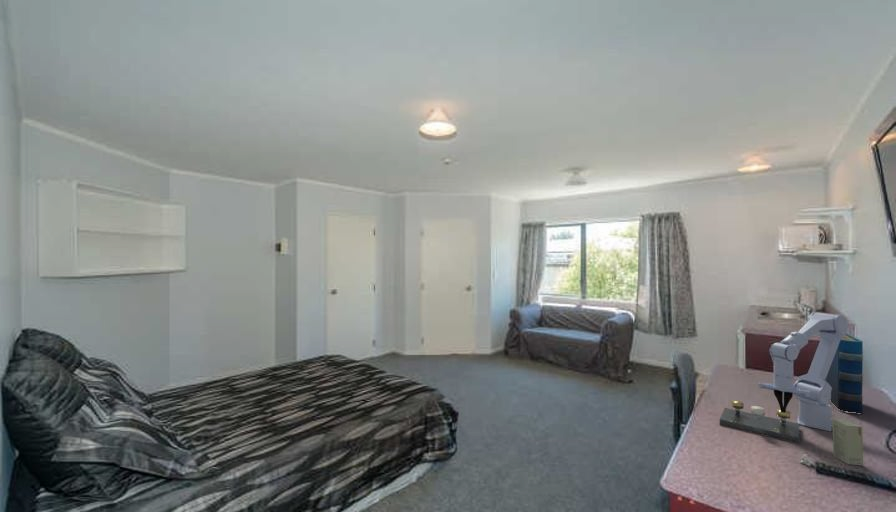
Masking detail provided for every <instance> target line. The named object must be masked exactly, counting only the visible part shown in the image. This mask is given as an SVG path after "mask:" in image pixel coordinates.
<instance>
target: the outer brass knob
mask: <svg viewBox="0 0 896 512" xmlns="http://www.w3.org/2000/svg"><path fill="white" fill-rule="evenodd" d="M730 403H731V405H730V406H731V407H732V408H734V410H735V413H740V411H741V410H743V409H744V408H745V407H744V405H745V404H744V402H743V401H740V400H737V399H732V400H731V401H730Z"/></svg>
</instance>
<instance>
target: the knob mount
mask: <svg viewBox="0 0 896 512" xmlns="http://www.w3.org/2000/svg"><path fill="white" fill-rule="evenodd" d="M719 425H721V426H725V427H730V428H734V429H737V430H742V431H747V432H750V431H751V432H750V433H754V432H755V434H758V433H759V434H758V435H762V434H763V436H766V435H767V436H766V437H772V438H775V439H779V440H784V441H787V442H791V441H792V442H791V443H795V442H797V443H796V444H800V425H799V424H798V423H797V422H795V421H789V420H786V423H781V422H780V419H779V418H774V417H771V416H770V417H769V416H765V415H764V416H761V420H756V419H755V414H753V413H751V412H747V411H742V410H740V413H735V409H732V408H729V407H724V409H723V411H722V414H721V416H720V418H719Z"/></svg>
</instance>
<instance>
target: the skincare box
mask: <svg viewBox="0 0 896 512" xmlns="http://www.w3.org/2000/svg"><path fill="white" fill-rule="evenodd" d="M863 441H864V440H863V426H862V425H861V424H860V425H859V424H857V423H855V422H853V421H851V420H849V419H848V418H847V419H844V418H834V417H833V418H832V447H833V448H832V455H833V456H834V457H835V458H837V459H839V460H840V461H842V462H844V463H845V464H847V465H854V466H864V450H863V449H864V448H863V447H864V444H863Z"/></svg>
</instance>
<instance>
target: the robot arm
mask: <svg viewBox="0 0 896 512" xmlns="http://www.w3.org/2000/svg"><path fill="white" fill-rule="evenodd" d="M848 327H849V323H848V319H847V317H846V316H845V315H843V314H835V313H825V312H818V311H812V312H811V313H810V314H809V315H808V316H807V322H806V323H805V324H804V325H803V326H802V327H801V328H800V330H799V331H791V332H790V334H789V335H787V336H786V337H785V338H783V339H782V340H781V341H779V342H775V343H773V344H771V345H770V348H769V349H768V350H769V351H768V352H769V355H770V356H771V360H772V361H771V362H772V363H773V383H768V382H761V381H760V382H758V389H761V390H762V389H764V390H768V391H773V394H774V397H775V398H776V400H777V402H778V405H779V409H781V412H786V410H787V408H788V406H789V405H788V404H789V403H790V401H791V400H792V399H793V396H796V399H797V400H798V416H797V418H796V419H797V422H796V423H798V424H799V426H804V427H808V428H814V429H818V430H823V431H827V432H833V418H832V414H833V413H832V404H828V403H830V399H831V390H832V387H831V386H830V385H829V384H828V383H827V382H826V380H825V379H826V377H827V374H828V371H829V369H830V366H831V364H832V361H833V358H834V356H835V353H836V350H837V348H838V345H839V342H840V340H841V339H842V338H844V336H845V333H847V330H848ZM814 335H818V336H819V337H820V341H819V343H818V346H817V348H816V351H815V353H814V356H813V359H812V360H811V364H810V367H809V369H808V372H807V373H806V374H803V375H800V376H798V377H797V380H796V381H795V382H794V361H795V360H797V358H798V356H799V354H800V352H801V350H802V349H803V348H804V347H805V346H807V345H808V343H809V340H808V339H809V338H811V337H813V336H814Z"/></svg>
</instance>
